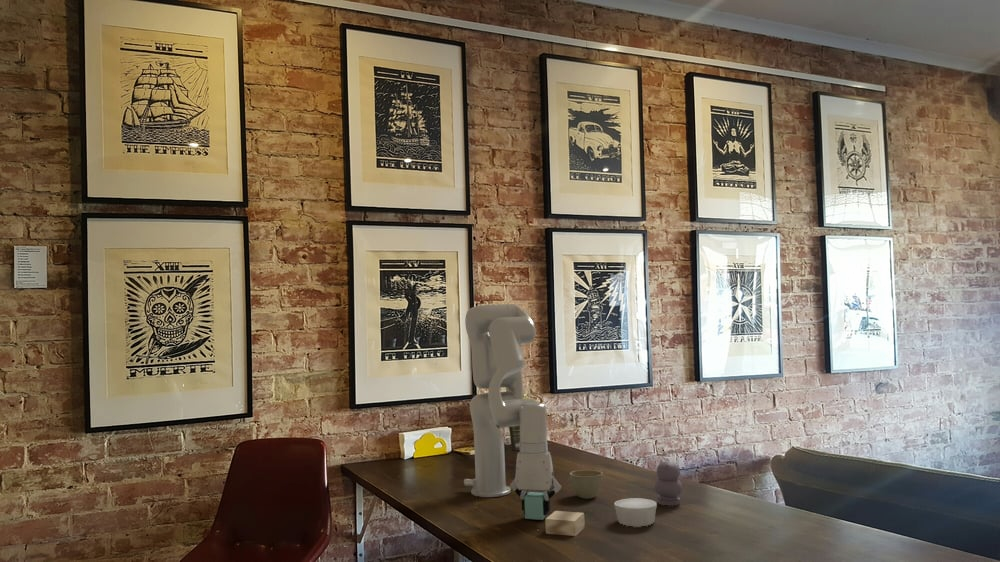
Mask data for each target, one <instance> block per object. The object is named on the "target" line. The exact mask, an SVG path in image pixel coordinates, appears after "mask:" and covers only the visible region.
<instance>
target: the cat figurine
mask: <svg viewBox="0 0 1000 562" xmlns="http://www.w3.org/2000/svg"><path fill="white" fill-rule="evenodd" d="M659 461H660V462H659V464H658V465H657V467H656V475H657V477H658V479H657V480H656V481H655V483H654V489H655V491H656V493H657V494H658V495H659V496H658V497H657V504H658V503H659V504H658V505H660V504H661V505H660V506H664V505H668V506H667V507H674V506H673V505H676V506H679V505H680V504H681V498H680V497H679V495H681V494H682V491H683V484H682V482H681V481H680V480H679V478H680V474H681V471H680V468H679V466H678V465H677V464H676V463H675V462H672V461H667V460H666V461H664V460H662V459H660V460H659ZM678 504H679V505H678ZM670 505H672V506H670Z"/></svg>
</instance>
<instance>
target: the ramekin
mask: <svg viewBox="0 0 1000 562" xmlns="http://www.w3.org/2000/svg"><path fill="white" fill-rule="evenodd" d="M657 506H658V502H657V501H655V500H652V499H649V498H641V497H636V498H635V497H633V498H632V497H630V498H623V499H622V498H621V499H619V500H616V501H614V503H613V507H614V509H615V514H616V518H617V522H619V524H620V525H621V524H623V525H622V526H624V525H626V526H625V527H628V526H633V527H632V528H642V527H641V526H646V527H649V526H648V525H650V526H652V525H653V523H654V522H655V520H656V510H657V508H658V507H657ZM651 524H652V525H651Z"/></svg>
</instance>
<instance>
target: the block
mask: <svg viewBox="0 0 1000 562" xmlns="http://www.w3.org/2000/svg"><path fill="white" fill-rule="evenodd" d="M524 499H525V514H524V519H527V520H537V521H538V520H540V521H543V520H544V519H546V518H547V515H544V512H543V501H544V495H543V492H540V491H538V492H537V491H533V492H532V491H528V492H527V495H526V496H525V497H524Z"/></svg>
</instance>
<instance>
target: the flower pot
mask: <svg viewBox="0 0 1000 562" xmlns="http://www.w3.org/2000/svg"><path fill="white" fill-rule="evenodd" d="M603 475H604V474H603V472H602V471H600V470H593V469H581V470H580V469H579V470H573V471H570V472H569V477H570V481H571V484H572V487H573V490H574V491H575V493H576V495H577V497H579V498H580V499H595V497H596V496H597V495H598V492H599V490H600V488H601V485H602V481H603Z"/></svg>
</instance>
